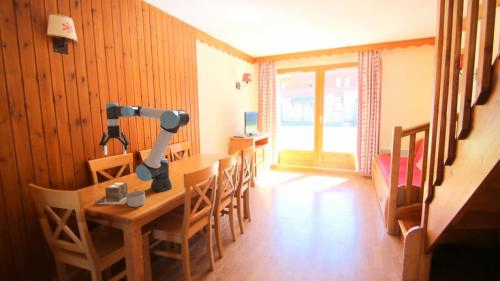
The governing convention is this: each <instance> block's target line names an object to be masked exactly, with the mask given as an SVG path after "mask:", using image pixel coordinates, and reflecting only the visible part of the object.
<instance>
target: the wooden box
mask: <svg viewBox="0 0 500 281" xmlns="http://www.w3.org/2000/svg"><path fill="white" fill-rule="evenodd" d="M104 189H105V196H106V202H119V201H120V200H122V199H123V198H125V197H126V195H127V194H128V192H129V191H128V189H129V188H128V182H117V181H116V182H114V183H112V184H110V185H109V186H107V187H105V188H104Z"/></svg>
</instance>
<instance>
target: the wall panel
mask: <svg viewBox="0 0 500 281" xmlns="http://www.w3.org/2000/svg"><path fill="white" fill-rule="evenodd" d="M94 203H95V205H125V204H127V200H126V197H125V198H123V199H122V200H120V201H119V202H106V195H104V196H103V197H100V198H99V199H97V200H96V201H95V202H94Z"/></svg>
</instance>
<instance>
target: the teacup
mask: <svg viewBox="0 0 500 281" xmlns="http://www.w3.org/2000/svg"><path fill="white" fill-rule="evenodd" d="M126 200H127V202H126V204H127V206H128V207H131V208H138V207H139V208H140V207H141V206H143V205H144V204H145V203H146V192H145V191H143V190H134V191H130V192H129V193H128V194H127V195H126Z"/></svg>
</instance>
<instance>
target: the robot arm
mask: <svg viewBox="0 0 500 281" xmlns="http://www.w3.org/2000/svg"><path fill="white" fill-rule="evenodd" d="M105 112H106V113H105V115H106V124H107V129H106V130H107V131H104V132H103V134H102V137H101V139H100V142H99V145H100V146H101V147H102V151H103V155H104V156H106V155H108V145H107V144H108V143H109V141H110V140H111V139H117V140H118V141H119V142H120V143H121V144H122V145H123V146H122V151H123V152H122V154H123V156H127V150H128V145H131V143H130V142H129V140H128V138H127V137H126V134H125V131H121V130H120V119H119V118H130V117H131V118H132V117H138V118H140V117H141V118H146V119H152V120H153V119H154V120H159V123H160V124H159V127H160V131H159V132H158V134H157V137H156V139H155V141H154V144H153V146H152V147H151V149H150V152H149V153H148V156H147V157H145V158H144V159H143V161H142V163H141V164H139V165H138V166H136V169H135V175H136V178H138V179H139V181H140V182H141V181H142V182H149V181H151V180H152V181H151V182H150V183H151V184H150V190H151V191H152V192H157V193H158V192H166V191H169V190H171V189H172V188H173V183H172V182H171V179H170V167H169V159H168V158H165V157H164V154H165V153H166V151H167V149H168V146H169V144H170V142H171V141H172V138H173V136H174V135H176V134H177V133H178V132H179V129H180V128H182V127H185V126H187V125H188V124H189V122H190V115H189V112H187V111H186V110H184V109H162V108H153V107H146V106H141V105H118V103H117V102H116V103H115V102H113V103H112V102H107V103H105ZM120 131H121V132H120ZM107 135H108V137H107ZM99 145H98V146H99Z"/></svg>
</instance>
